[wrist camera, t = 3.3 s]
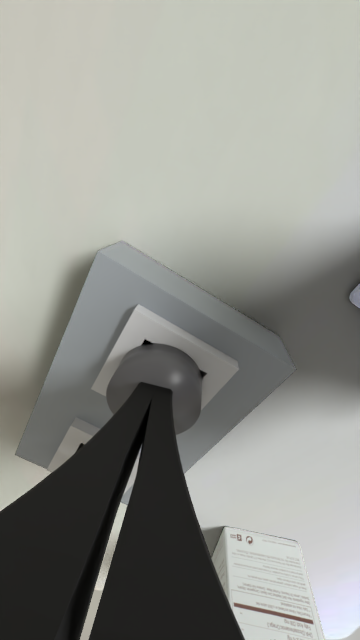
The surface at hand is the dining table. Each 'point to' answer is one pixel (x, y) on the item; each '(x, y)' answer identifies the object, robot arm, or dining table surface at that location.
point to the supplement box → (267, 586)
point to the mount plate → (128, 333)
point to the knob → (160, 380)
